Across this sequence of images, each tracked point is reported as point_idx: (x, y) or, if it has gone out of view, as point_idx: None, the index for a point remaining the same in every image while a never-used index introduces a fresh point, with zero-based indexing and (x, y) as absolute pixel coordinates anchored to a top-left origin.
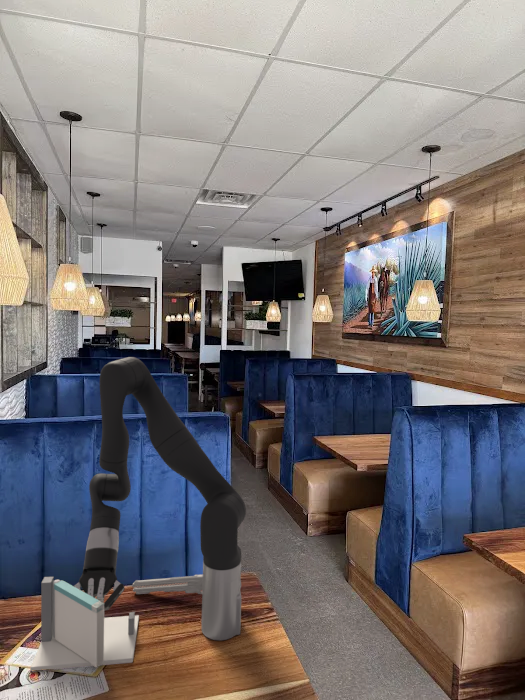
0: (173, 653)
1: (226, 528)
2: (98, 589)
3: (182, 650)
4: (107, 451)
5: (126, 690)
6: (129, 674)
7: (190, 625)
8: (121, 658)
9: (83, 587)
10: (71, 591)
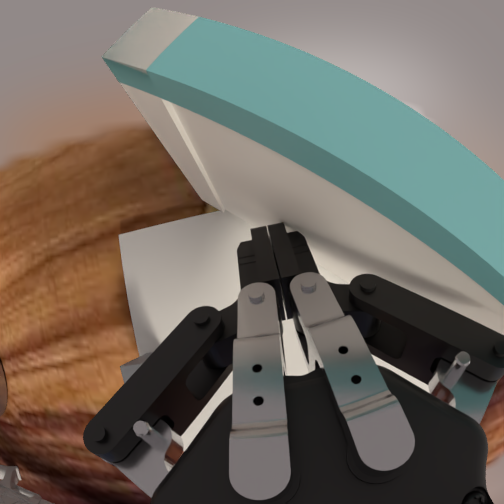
0: (37, 283)
1: None
2: (282, 394)
3: (22, 296)
4: None
5: (122, 139)
6: (124, 190)
7: (29, 396)
8: (152, 230)
9: (427, 393)
10: (492, 193)
